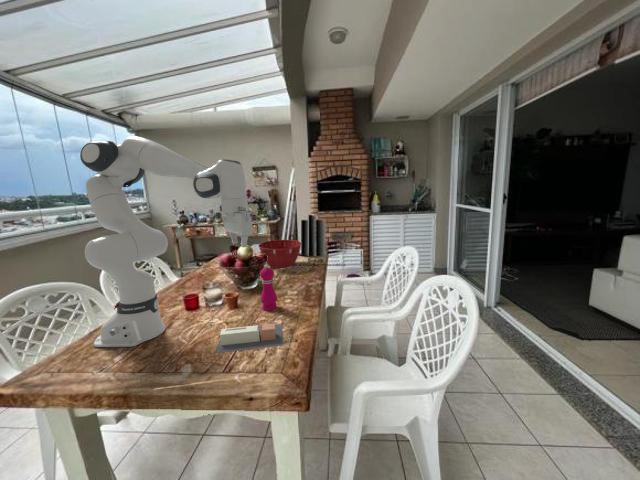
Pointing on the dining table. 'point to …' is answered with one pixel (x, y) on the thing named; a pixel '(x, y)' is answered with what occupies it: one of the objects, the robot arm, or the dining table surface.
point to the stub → (268, 332)
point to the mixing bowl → (280, 252)
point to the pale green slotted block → (240, 335)
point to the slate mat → (254, 343)
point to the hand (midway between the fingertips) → (239, 245)
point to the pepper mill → (268, 289)
